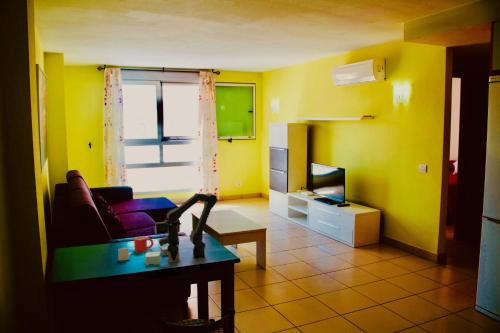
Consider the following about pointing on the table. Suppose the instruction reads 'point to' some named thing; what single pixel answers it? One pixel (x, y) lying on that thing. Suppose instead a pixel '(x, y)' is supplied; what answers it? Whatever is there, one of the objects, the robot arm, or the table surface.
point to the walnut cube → (171, 257)
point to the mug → (142, 243)
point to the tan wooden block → (164, 250)
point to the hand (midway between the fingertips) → (174, 258)
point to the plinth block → (152, 258)
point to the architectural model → (123, 254)
